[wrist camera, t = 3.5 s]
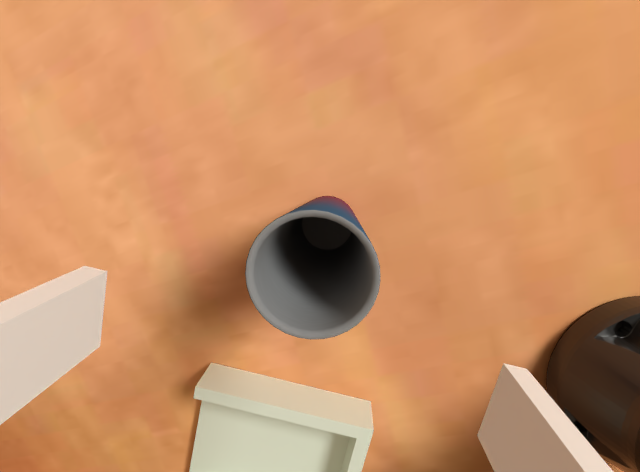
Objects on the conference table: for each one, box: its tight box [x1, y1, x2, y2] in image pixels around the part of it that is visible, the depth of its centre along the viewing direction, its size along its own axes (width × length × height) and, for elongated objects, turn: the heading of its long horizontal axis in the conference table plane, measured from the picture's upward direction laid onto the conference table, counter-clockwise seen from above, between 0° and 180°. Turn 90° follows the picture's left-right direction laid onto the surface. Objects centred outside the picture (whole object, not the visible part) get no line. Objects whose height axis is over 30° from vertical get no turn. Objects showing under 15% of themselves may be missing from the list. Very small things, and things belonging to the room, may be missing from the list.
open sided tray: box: [189, 362, 374, 472], centre depth 37 cm, size 14×16×4 cm
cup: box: [245, 196, 380, 339], centre depth 26 cm, size 7×7×15 cm
